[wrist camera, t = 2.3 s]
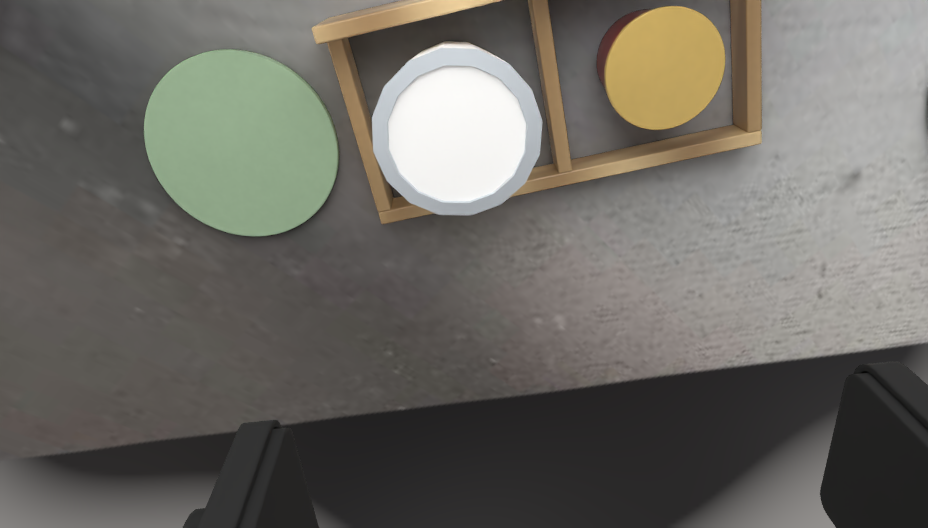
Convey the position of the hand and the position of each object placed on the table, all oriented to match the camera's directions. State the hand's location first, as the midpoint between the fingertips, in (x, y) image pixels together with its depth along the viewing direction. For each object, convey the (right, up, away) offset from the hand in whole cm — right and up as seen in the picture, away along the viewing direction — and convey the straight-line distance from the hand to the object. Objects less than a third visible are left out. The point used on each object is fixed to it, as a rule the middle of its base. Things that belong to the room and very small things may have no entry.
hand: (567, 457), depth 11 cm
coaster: (-13, +9, +21) cm, 27 cm away
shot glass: (-2, +12, +21) cm, 24 cm away
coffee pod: (+7, +13, +20) cm, 25 cm away
